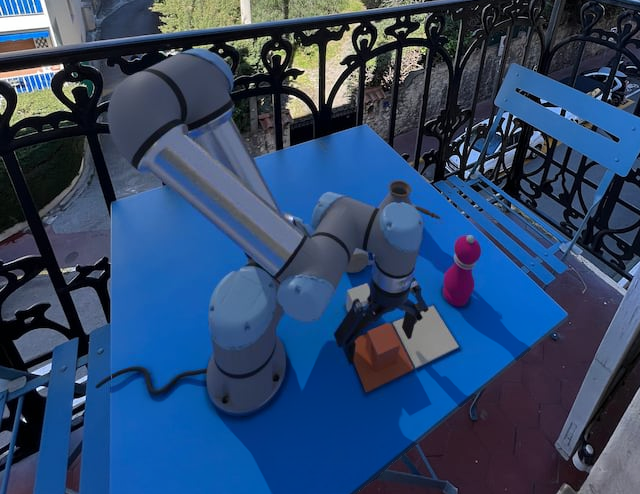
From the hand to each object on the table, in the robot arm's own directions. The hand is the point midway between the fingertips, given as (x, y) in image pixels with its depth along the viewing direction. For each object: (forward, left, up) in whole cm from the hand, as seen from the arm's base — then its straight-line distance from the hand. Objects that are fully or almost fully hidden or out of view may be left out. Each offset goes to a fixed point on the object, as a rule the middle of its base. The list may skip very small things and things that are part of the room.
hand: (378, 344), depth 84 cm
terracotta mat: (0, 0, -4) cm, 4 cm away
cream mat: (+12, 0, -4) cm, 12 cm away
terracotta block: (+1, -1, -3) cm, 3 cm away
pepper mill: (+24, +5, -4) cm, 25 cm away
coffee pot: (+22, +26, -4) cm, 35 cm away
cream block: (0, +10, -4) cm, 10 cm away
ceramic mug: (+5, +23, -4) cm, 24 cm away
